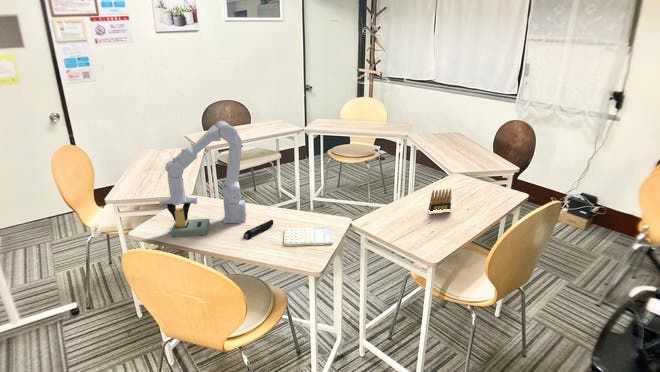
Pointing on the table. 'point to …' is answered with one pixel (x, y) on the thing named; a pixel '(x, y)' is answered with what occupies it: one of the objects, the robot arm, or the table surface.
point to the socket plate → (191, 228)
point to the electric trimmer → (257, 229)
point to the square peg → (180, 217)
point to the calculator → (308, 236)
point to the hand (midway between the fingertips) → (181, 219)
